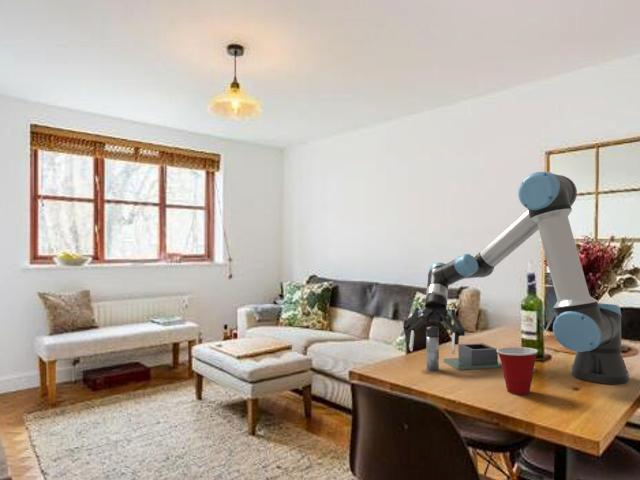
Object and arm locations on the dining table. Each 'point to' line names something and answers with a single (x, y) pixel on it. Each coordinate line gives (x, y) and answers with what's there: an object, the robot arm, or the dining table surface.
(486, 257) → the robot arm
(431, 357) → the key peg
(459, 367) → the block
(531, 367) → the plastic cup
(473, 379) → the dining table surface
